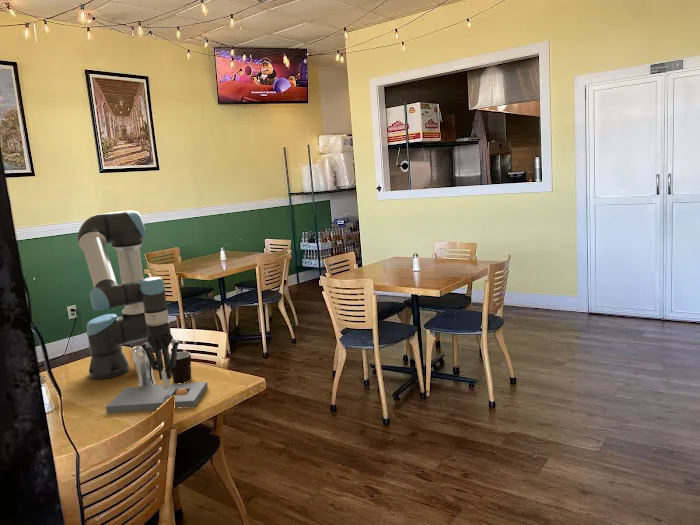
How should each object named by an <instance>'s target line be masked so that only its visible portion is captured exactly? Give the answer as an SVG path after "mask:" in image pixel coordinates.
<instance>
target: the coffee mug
mask: <svg viewBox="0 0 700 525" xmlns="http://www.w3.org/2000/svg"><path fill="white" fill-rule="evenodd" d="M169 357H170V362H171V354H169ZM171 374H172V377H171V378H172V379H173V380H172V381H173V384H176V383H181V384H182V383H184V382H186V383H188V382H190V381H191V380H192V353H191V352H190V351H177V358H176V366H175V367H174V368H173V369H171ZM190 379H191V380H190ZM189 380H190V381H189ZM187 381H188V382H187Z"/></svg>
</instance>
